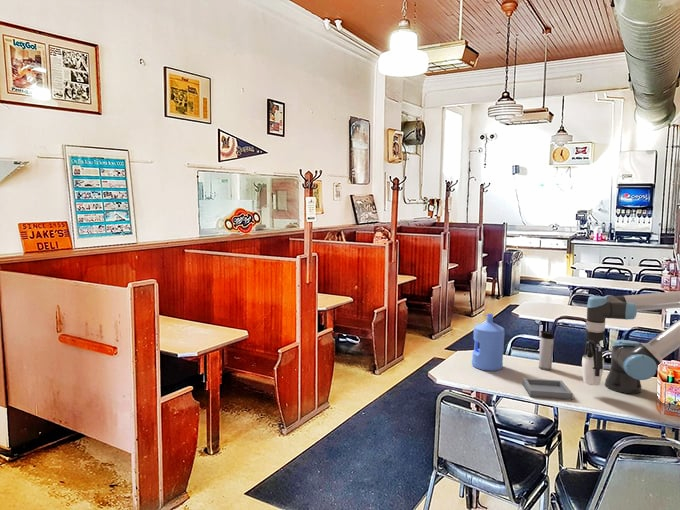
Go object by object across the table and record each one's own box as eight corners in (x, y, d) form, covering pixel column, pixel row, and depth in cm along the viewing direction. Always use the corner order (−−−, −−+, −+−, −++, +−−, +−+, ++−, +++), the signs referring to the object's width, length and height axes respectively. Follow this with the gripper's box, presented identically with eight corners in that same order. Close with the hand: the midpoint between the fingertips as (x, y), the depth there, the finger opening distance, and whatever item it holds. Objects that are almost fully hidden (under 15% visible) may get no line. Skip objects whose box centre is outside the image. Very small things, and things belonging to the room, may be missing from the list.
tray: (561, 386, 239) (561, 380, 239) (572, 399, 224) (572, 393, 223) (522, 383, 242) (522, 377, 241) (530, 396, 226) (530, 390, 226)
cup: (597, 380, 233) (599, 354, 232) (606, 387, 225) (607, 361, 223) (577, 379, 234) (579, 354, 233) (585, 386, 225) (586, 360, 224)
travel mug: (536, 366, 268) (538, 329, 266) (548, 366, 268) (551, 329, 266) (540, 370, 262) (543, 332, 260) (553, 370, 262) (556, 333, 260)
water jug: (505, 365, 269) (509, 313, 265) (497, 373, 255) (501, 319, 252) (476, 359, 277) (479, 309, 274) (467, 367, 264) (470, 315, 260)
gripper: (578, 324, 238) (575, 370, 240) (595, 336, 217) (591, 387, 219) (595, 324, 237) (592, 371, 239) (613, 337, 216) (610, 388, 218)
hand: (591, 378), depth 229 cm, fingers closed on cup, 9 cm apart
